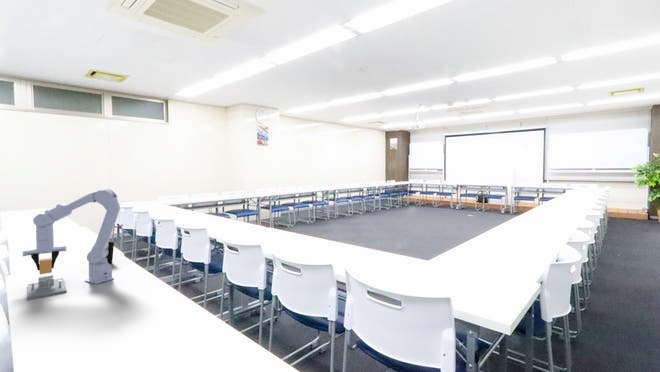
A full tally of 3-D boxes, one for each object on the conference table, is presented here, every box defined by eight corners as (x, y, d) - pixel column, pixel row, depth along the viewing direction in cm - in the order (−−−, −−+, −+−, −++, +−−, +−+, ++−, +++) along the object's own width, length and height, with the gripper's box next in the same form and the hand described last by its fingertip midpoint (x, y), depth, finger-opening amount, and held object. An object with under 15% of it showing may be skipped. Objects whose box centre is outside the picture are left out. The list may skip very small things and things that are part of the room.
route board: (66, 292, 132) (66, 289, 132) (27, 300, 123) (27, 297, 123) (62, 280, 147) (62, 277, 146) (27, 286, 138) (27, 284, 138)
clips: (61, 286, 136) (61, 280, 136) (31, 291, 129) (31, 286, 129) (60, 282, 140) (60, 277, 140) (31, 287, 134) (31, 282, 134)
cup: (107, 266, 169) (107, 245, 168) (94, 266, 169) (93, 244, 169) (117, 262, 177) (117, 241, 176) (104, 262, 177) (104, 241, 176)
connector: (51, 272, 139) (51, 259, 139) (39, 274, 136) (39, 261, 136) (51, 270, 142) (51, 257, 142) (39, 272, 139) (39, 259, 139)
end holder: (53, 283, 139) (53, 278, 139) (38, 286, 135) (38, 281, 135) (53, 280, 144) (53, 274, 144) (38, 282, 140) (38, 277, 140)
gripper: (65, 236, 147) (65, 263, 147) (22, 240, 136) (23, 270, 137) (66, 238, 142) (67, 267, 142) (22, 242, 131) (23, 273, 132)
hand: (45, 268), depth 139 cm, fingers closed on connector, 4 cm apart
